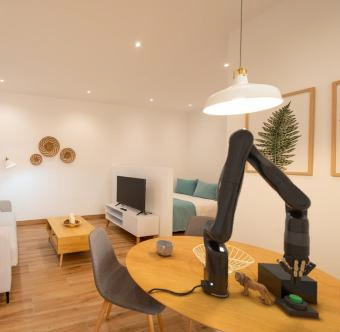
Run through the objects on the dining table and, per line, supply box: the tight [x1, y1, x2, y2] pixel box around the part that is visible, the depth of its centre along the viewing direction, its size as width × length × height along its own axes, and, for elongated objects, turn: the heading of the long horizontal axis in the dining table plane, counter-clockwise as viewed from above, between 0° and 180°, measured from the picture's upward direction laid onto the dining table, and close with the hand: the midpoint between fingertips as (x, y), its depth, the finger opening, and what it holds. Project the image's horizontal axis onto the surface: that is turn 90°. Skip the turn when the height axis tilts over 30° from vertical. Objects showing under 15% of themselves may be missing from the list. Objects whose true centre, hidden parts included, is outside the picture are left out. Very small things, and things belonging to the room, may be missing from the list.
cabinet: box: [257, 262, 318, 305], centre depth 98 cm, size 16×14×10 cm
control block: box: [274, 295, 320, 319], centre depth 86 cm, size 10×8×4 cm
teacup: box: [155, 238, 175, 257], centre depth 138 cm, size 14×11×8 cm
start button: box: [290, 294, 302, 304], centre depth 86 cm, size 4×4×2 cm
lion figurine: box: [234, 270, 276, 305], centre depth 95 cm, size 15×5×9 cm, turn 39°
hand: (295, 284), depth 86 cm, fingers closed
